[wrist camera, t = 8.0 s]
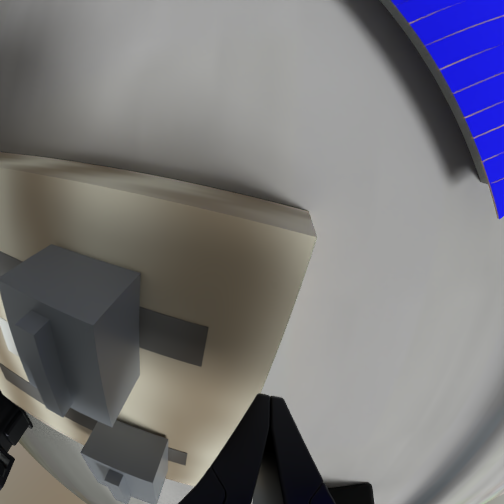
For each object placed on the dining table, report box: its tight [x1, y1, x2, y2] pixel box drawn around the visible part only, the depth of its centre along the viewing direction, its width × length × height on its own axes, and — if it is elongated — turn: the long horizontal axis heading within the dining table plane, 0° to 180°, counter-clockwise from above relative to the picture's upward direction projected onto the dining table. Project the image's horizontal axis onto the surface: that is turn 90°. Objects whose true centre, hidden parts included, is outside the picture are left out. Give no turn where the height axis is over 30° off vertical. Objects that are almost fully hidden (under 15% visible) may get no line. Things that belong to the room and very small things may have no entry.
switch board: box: [0, 152, 317, 486], centre depth 14 cm, size 20×20×3 cm
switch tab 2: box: [81, 420, 168, 504], centre depth 12 cm, size 4×5×4 cm
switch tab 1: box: [0, 244, 141, 427], centre depth 8 cm, size 4×5×4 cm
